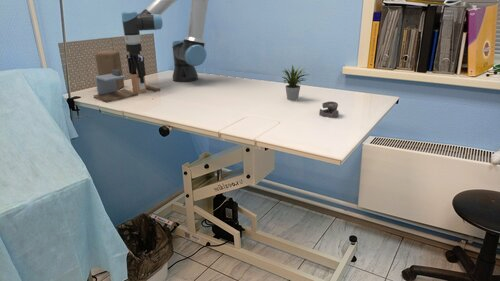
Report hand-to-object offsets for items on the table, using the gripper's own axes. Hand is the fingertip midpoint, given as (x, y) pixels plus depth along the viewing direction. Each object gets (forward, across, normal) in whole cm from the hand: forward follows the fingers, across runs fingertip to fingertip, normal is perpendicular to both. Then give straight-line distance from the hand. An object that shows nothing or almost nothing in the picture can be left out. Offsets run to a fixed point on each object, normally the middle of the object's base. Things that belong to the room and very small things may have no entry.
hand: (139, 88), depth 192 cm
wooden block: (+2, -18, -6) cm, 19 cm away
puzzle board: (+2, 0, -7) cm, 7 cm away
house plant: (+2, +72, +39) cm, 82 cm away
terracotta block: (+2, 0, 0) cm, 2 cm away
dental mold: (+2, +99, +30) cm, 103 cm away
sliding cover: (0, 0, -15) cm, 15 cm away
